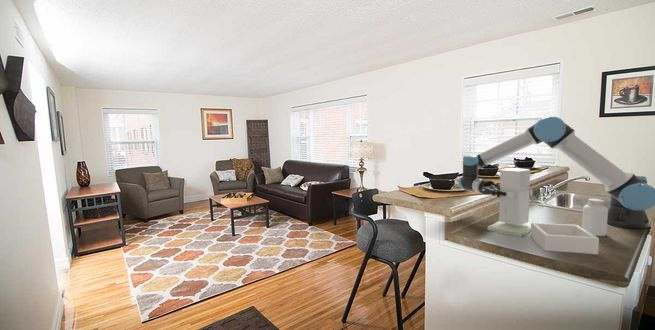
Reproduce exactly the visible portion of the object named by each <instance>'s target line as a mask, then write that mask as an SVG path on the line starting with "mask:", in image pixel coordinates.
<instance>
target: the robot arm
mask: <svg viewBox="0 0 655 330" xmlns="http://www.w3.org/2000/svg"><path fill="white" fill-rule="evenodd" d="M575 133H576V130H575V129H573V128H572V127H570V126H569V124H567V123H566V122H565V121H564V120H563V119H562V118H560V117H558V116H555V115H554V116H553V115H547V116H544V117H542V118H540V119H539V120H537V122H536V123H534V124H533V125H531V126H529V127H528V128H527V127H526V130H525V131H524V132H522V133H520V134H518V135H515V136H513V137H512V138H509V139H507V140H505V141H503V142H501V143H499V144H497V145H495V146H493V147H491V148H489V149H487V150H485V151H483V152H481V153H479V154H476V155H464V156H463V157H462V176H461V177H459V179H458V181H457V182H458V187H459V188H460V189H462V190H465V191H468V190H469V191H470V192H475V193H478V194H479V195H480V194H483V195H487V196H489V195H491V196H493V197H494V196H496V197H497V198H500V196H504V197H508V198H514V192H509V191H504V190H501V191H500V184H498V183H497V184H496V183H495V182H494V181H492V180H489V179H485V178H484V179H483V178H479V176H478V175H479V174H478V173H479V171H478V170H480V169H482V168H484V167H486V166H488V165H491V164H492V163H495V162H497V161H499V160H501V159H504V158H505V157H508V156H510V155H512V154H514V153H517V152H519V151H521V150H523V149H525V148H527V147H530V146H531V145H539V144H541V143H544V144H546V145H547V146H548V147H549V148H550V149H552V150H554V149H556V150H559V151H560V152H561V153H563V154H564V155H565V156H566V157H568V159H570V160H572V162H574V163H575V164H577V166H579V167H581V168H582V169H583V170H584V171H586V172H587V173H589V174H590V175H591V176H592V177H593V178H594V179H596V180H597V181H599V182H600V183H601V184H602V185H604V187H605V188H604V189H605V192H607V193H608V194H609V205H608V206H609V207H607V209H608V217H607V225H612V226H616V227H619V228H628V229H640V230H641V229H642V230H643V229H648V228H650V220H649V217H648V214H647V212H646V211H647V210H649V209H652V208H653V207H655V187H653V186H652V185H650V184H648V179H647V177H646V176H645V175H636V174H634V173H632V172H625V171H624V170H622V169H620V167H618V166H616V164H614V163H612V162H611V161H610V160H609V159H607V158H606V157H605V156H603V155H602V154H600V153H599V151H596V150H595V149H594V148H593V147H591V146H590V145H589V144H587V143H586V142H584V141H583V140H582V139H580V138H579V136H577V135H576V134H575ZM533 191H534V190H532V189H529V197H533Z"/></svg>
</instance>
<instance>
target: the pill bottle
mask: <svg viewBox="0 0 655 330" xmlns="http://www.w3.org/2000/svg"><path fill="white" fill-rule="evenodd" d="M582 210H583V211H582V220H581V221H582V222H581V228H583V229H585V230H586V231H588V232H589V233H591V234H593V235H594V236H596V237H605V236H606V235H607V229H608V223H607V217H608V207H606V206H605V200H603V199H600V198H588V199H587V204H585V205H584V206H583V207H582Z"/></svg>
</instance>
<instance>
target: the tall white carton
mask: <svg viewBox="0 0 655 330" xmlns="http://www.w3.org/2000/svg"><path fill="white" fill-rule="evenodd" d="M499 173H500V174H499V185H500V191H501V190H504V191H509V192H514V198H508V197H504V196H500V197H499V206H498V208H499V209H498V210H499V211H498V215H499V216H498V221H500V222H505V223H509V224H513V225H517V226H518V225H522V224H525V223H528V221H529V218H530V217H529V215H530V213H529V211H530V196H529V190H530V183H531V181H530V180H531V169H528V168H514V167H507V168H504V169H503V168H502V169H499Z"/></svg>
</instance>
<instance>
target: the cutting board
mask: <svg viewBox="0 0 655 330" xmlns="http://www.w3.org/2000/svg"><path fill="white" fill-rule="evenodd" d="M531 223H538V222H537V221H535V222H534V221H529V220H528V223H525V224H522V225H518V226H517V225H513V224H509V223H505V222H500V221H499V220H498V221H496V222H494V223H493V224H490V225H488V226H487V230H488V231H491V232H497V233H501V234H506V235H510V236H514V237H519V238H522V237H523V236H525V235H527V234H529V233H531Z"/></svg>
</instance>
